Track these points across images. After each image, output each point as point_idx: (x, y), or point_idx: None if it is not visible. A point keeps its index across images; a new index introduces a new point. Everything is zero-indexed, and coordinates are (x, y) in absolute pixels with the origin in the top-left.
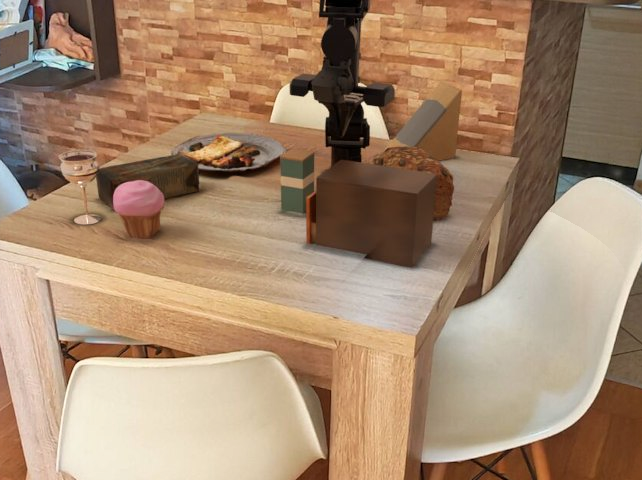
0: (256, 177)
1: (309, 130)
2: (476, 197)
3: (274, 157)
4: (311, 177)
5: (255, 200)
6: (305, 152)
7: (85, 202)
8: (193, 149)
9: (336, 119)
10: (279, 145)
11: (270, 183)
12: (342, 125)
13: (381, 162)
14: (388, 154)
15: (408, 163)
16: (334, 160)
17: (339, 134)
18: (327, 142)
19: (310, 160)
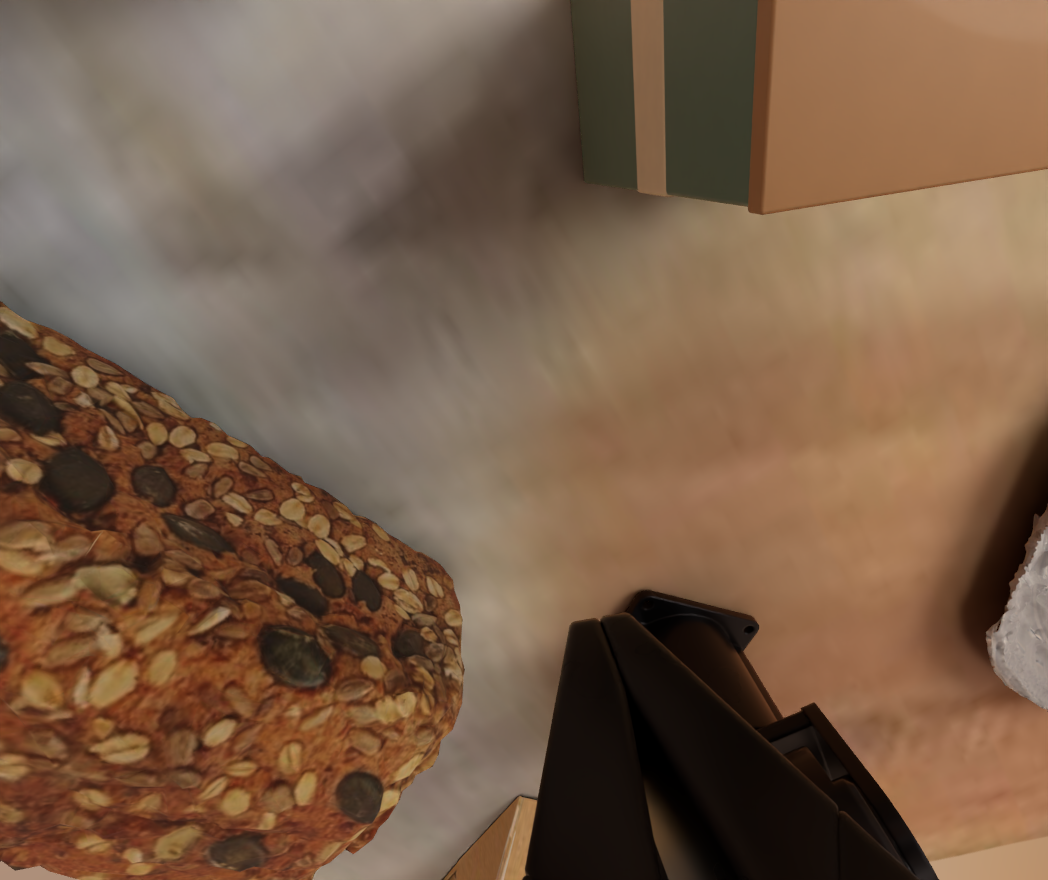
0: (1040, 403)
1: (951, 849)
2: None
3: (1022, 593)
4: (649, 118)
5: None
6: (873, 98)
7: None
8: None
9: (747, 858)
10: (1034, 689)
11: (951, 375)
12: (578, 776)
13: (278, 643)
14: (279, 743)
15: None
16: (732, 666)
17: (604, 639)
18: (818, 728)
19: (730, 68)
